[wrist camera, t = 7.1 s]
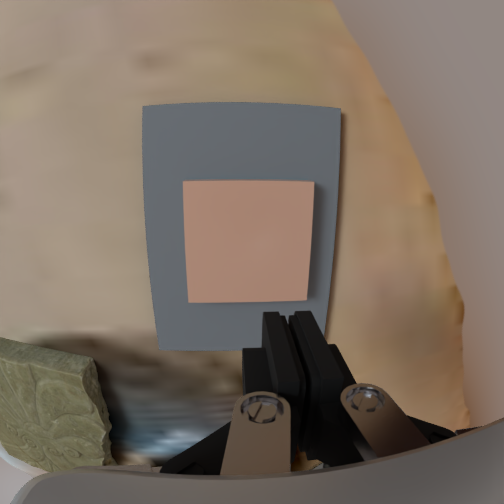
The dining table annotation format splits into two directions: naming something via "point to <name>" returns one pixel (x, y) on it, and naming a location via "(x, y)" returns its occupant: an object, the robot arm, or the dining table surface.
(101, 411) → the decorative tile
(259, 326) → the rubber mat
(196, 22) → the dining table surface
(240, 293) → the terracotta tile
